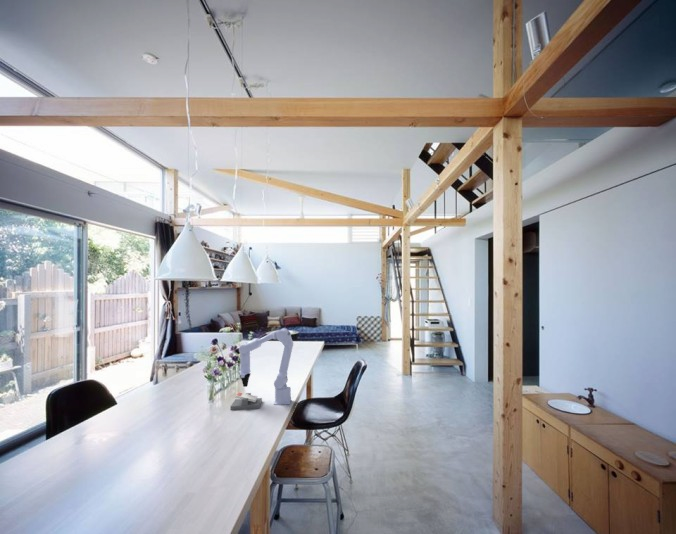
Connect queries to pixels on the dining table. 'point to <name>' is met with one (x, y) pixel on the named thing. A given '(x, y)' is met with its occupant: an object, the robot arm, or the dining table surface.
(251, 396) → the block
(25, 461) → the dining table surface
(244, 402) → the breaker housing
